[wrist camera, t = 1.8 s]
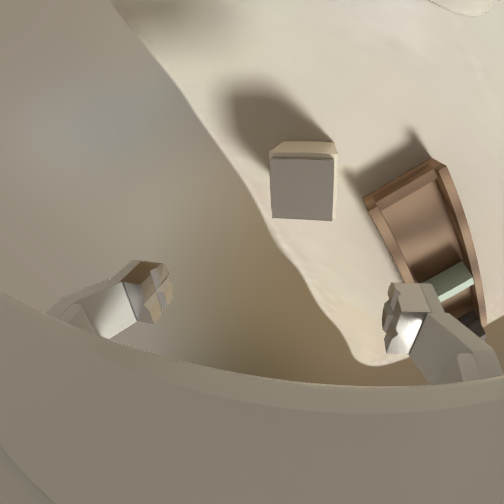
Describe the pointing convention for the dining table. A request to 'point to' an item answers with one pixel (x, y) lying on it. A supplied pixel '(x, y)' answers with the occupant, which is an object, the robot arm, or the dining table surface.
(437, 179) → the pusher lane
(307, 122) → the dining table surface
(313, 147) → the cream rectangular box
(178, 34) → the dining table surface
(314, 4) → the dining table surface
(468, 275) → the plate
